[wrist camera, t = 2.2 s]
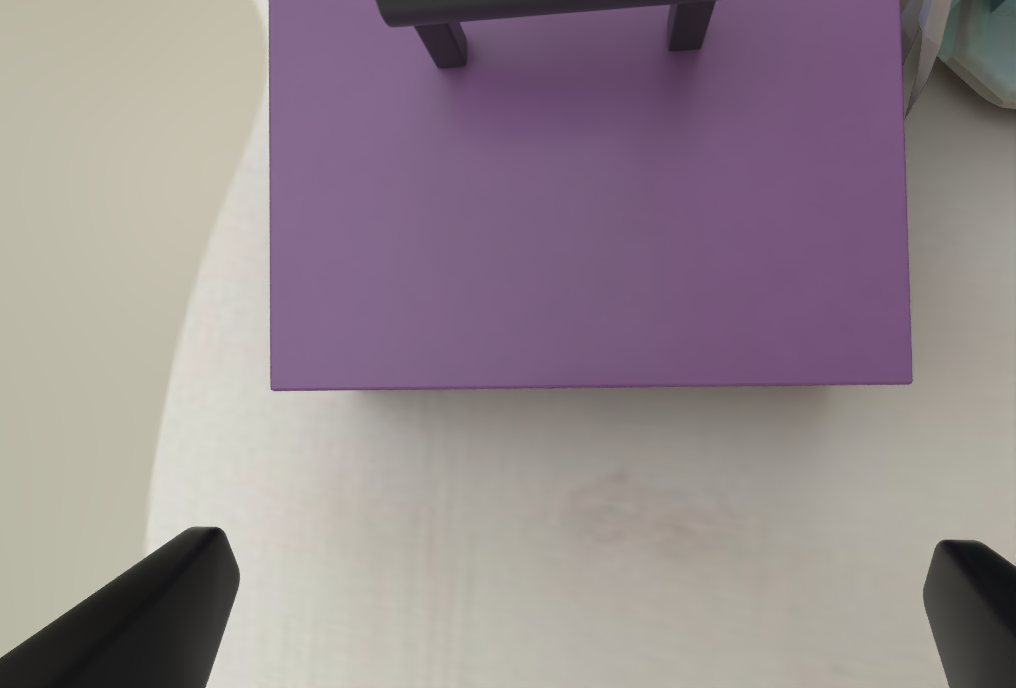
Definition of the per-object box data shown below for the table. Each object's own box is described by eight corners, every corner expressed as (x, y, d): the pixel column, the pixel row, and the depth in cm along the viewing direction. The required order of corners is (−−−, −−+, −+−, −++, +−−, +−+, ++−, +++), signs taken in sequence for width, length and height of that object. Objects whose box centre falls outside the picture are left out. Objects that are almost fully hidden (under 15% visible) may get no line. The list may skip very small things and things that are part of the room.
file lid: (282, -42, 17) (149, -210, 12) (881, -102, 15) (1019, -331, 10) (285, 389, 16) (148, 401, 12) (897, 383, 15) (1046, 393, 10)
